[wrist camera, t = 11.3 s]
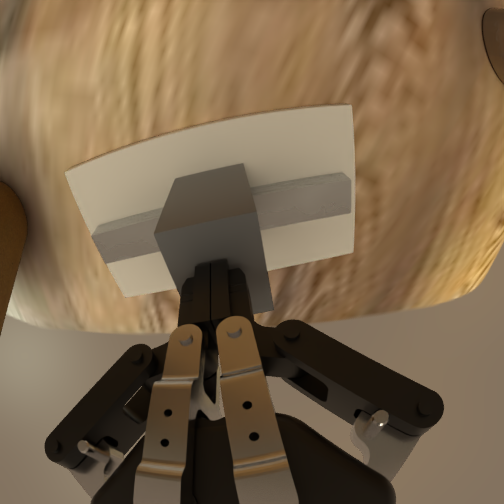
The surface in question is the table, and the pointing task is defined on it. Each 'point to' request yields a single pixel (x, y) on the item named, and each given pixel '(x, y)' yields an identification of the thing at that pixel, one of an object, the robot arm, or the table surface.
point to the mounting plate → (217, 156)
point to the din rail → (266, 202)
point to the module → (214, 229)
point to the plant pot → (10, 243)
